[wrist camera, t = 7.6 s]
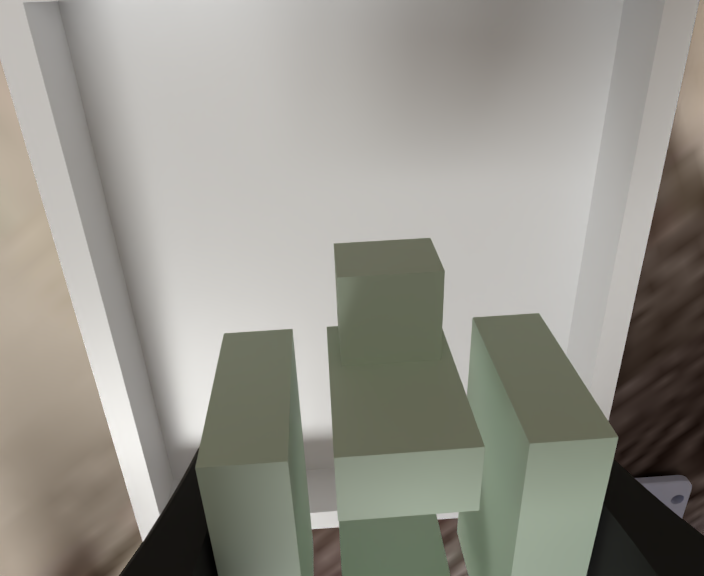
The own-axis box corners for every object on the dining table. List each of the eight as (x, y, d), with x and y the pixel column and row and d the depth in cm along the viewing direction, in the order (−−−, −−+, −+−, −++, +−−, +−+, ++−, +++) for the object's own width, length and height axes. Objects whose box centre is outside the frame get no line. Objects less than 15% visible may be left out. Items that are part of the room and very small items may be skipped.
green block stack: (510, 527, 14) (562, 676, 11) (258, 547, 13) (246, 704, 11) (550, 230, 10) (641, 336, 7) (210, 251, 10) (173, 367, 7)
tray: (563, 456, 24) (589, 507, 22) (158, 486, 23) (142, 542, 21) (656, -66, 15) (714, -69, 13) (21, -41, 15) (-29, -39, 13)
